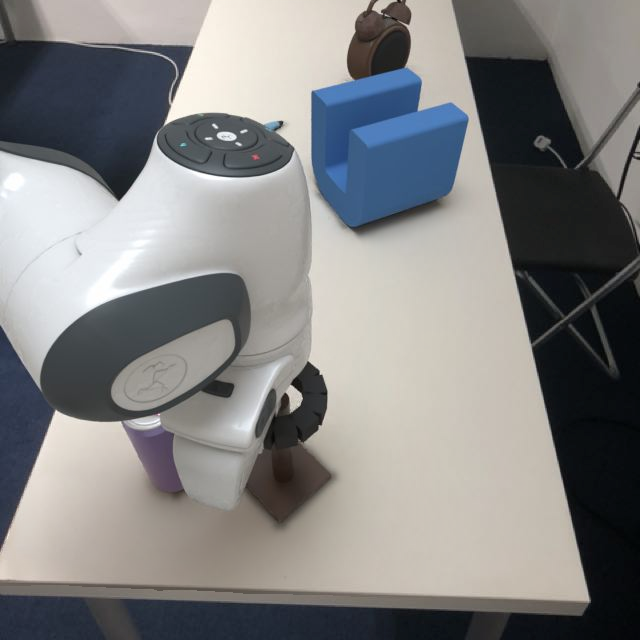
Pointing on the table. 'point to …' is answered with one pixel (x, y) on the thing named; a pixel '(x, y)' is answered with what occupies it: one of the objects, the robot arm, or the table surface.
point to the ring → (301, 411)
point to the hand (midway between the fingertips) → (262, 427)
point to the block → (383, 146)
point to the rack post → (285, 475)
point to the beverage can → (154, 451)
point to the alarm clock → (380, 41)
